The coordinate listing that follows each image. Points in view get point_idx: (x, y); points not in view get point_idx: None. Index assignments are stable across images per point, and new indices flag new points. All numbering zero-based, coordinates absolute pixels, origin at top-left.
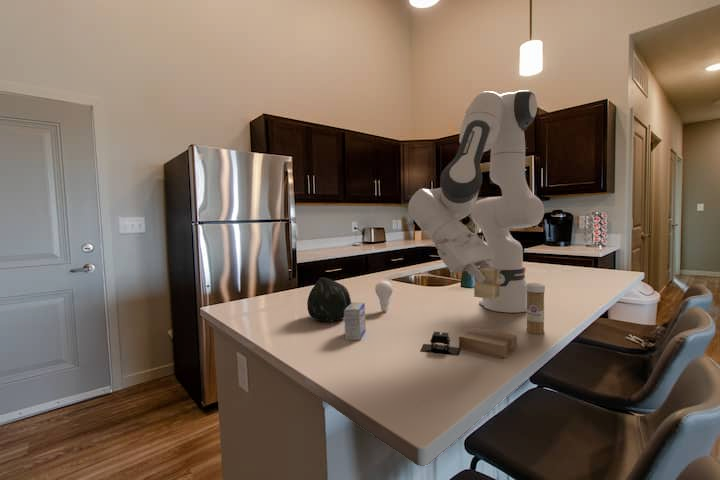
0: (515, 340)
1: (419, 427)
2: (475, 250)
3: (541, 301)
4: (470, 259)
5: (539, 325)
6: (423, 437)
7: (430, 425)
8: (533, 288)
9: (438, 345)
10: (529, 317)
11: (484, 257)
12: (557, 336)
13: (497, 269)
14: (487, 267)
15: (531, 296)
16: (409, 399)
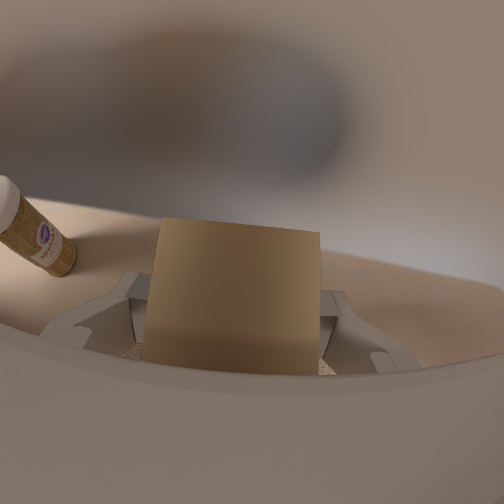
0: None
1: (496, 307)
2: (100, 500)
3: (30, 204)
4: (463, 380)
5: (64, 238)
6: (501, 295)
7: (490, 299)
8: (11, 202)
9: None
10: (52, 255)
11: (77, 354)
12: (78, 212)
13: (206, 225)
14: (187, 311)
15: (22, 223)
16: (475, 350)
